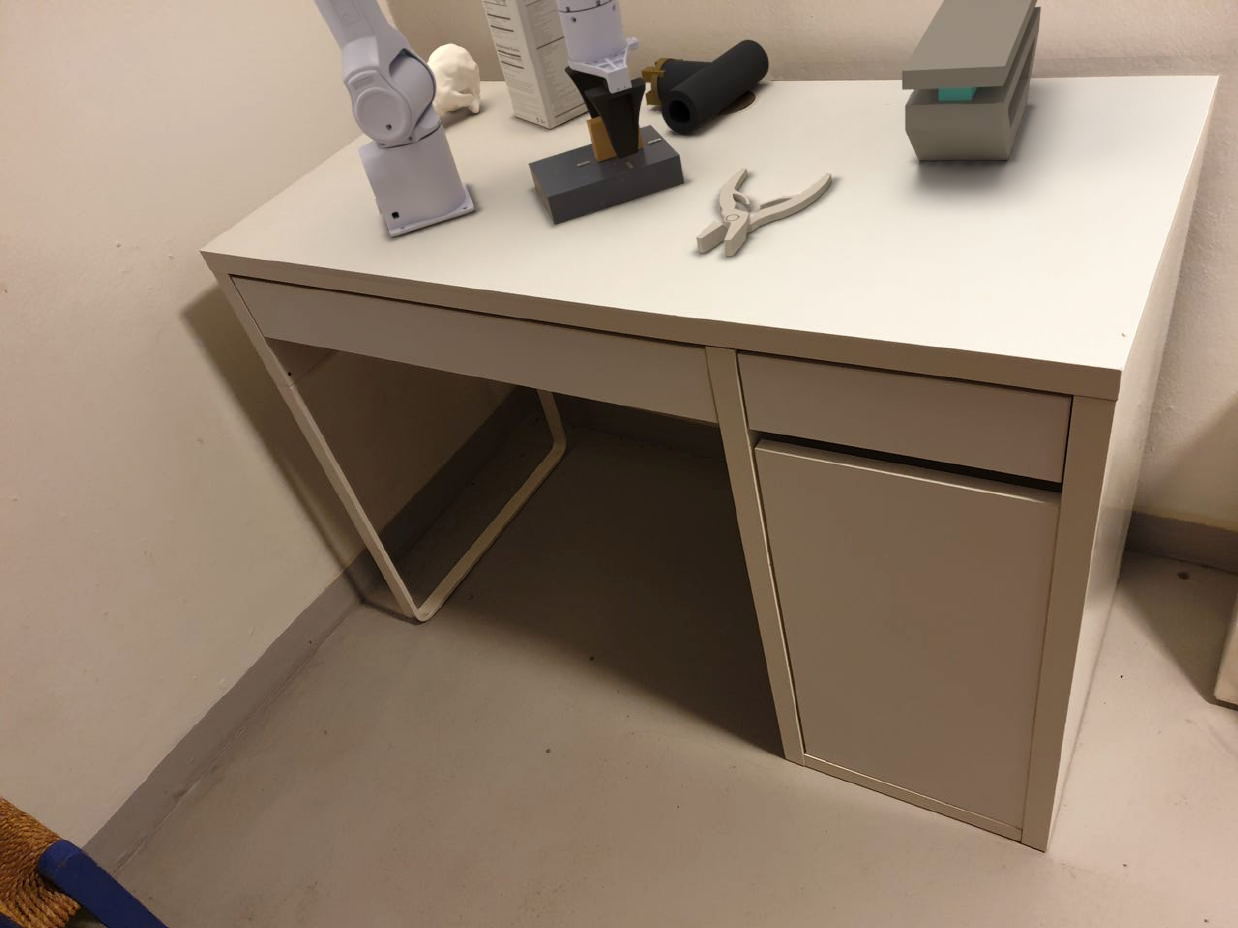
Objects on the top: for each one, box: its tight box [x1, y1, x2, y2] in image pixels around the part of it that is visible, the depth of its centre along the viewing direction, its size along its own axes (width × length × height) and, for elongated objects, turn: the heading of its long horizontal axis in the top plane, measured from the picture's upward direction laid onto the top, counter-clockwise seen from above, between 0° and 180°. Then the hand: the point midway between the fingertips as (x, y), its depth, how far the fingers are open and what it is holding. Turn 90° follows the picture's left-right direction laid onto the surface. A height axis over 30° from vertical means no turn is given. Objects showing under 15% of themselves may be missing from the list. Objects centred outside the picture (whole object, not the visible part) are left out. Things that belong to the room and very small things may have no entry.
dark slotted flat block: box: [528, 124, 685, 225], centre depth 95 cm, size 14×10×3 cm
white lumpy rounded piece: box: [426, 43, 481, 116], centre depth 119 cm, size 6×8×12 cm
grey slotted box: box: [901, 0, 1042, 161], centre depth 84 cm, size 25×8×11 cm, turn 154°
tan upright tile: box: [586, 116, 643, 162], centre depth 92 cm, size 5×1×4 cm, turn 106°
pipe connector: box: [641, 39, 770, 136], centre depth 106 cm, size 12×5×15 cm
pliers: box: [696, 167, 832, 257], centre depth 84 cm, size 10×2×15 cm
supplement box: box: [481, 0, 588, 130], centre depth 111 cm, size 10×9×17 cm
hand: (617, 142), depth 93 cm, fingers open, 7 cm apart
